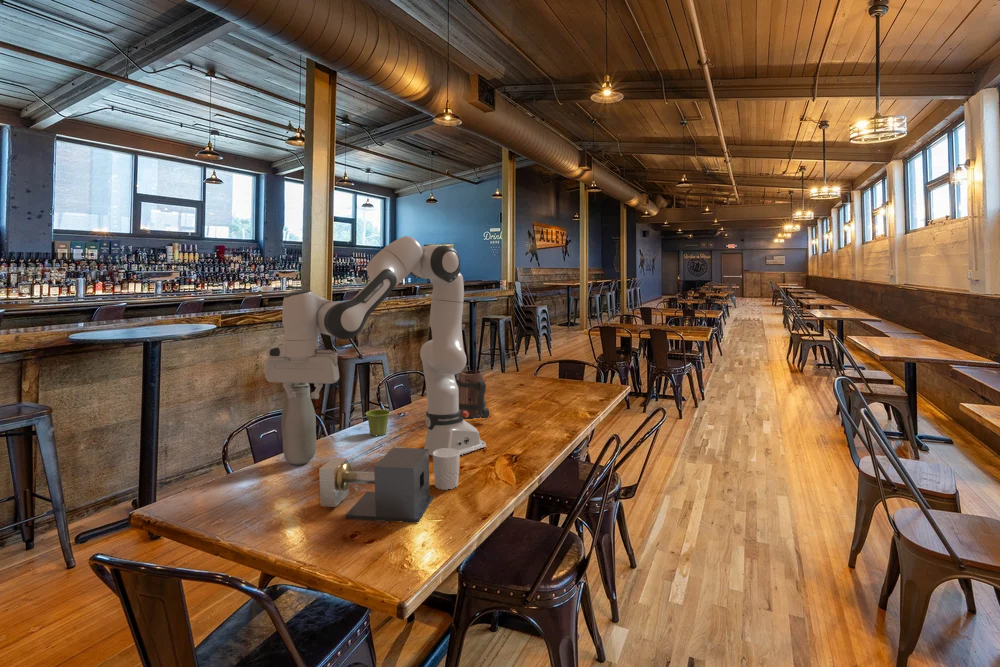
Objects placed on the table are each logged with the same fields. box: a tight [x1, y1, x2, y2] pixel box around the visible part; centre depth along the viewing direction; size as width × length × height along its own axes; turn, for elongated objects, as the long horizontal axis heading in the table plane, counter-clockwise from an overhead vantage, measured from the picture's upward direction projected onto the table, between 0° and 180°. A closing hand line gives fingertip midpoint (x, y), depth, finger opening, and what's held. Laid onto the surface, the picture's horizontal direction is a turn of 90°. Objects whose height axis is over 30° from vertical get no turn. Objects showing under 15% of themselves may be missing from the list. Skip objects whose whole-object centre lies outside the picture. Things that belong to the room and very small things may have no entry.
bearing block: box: [344, 447, 434, 523], centre depth 129 cm, size 19×14×14 cm
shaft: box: [318, 457, 375, 508], centre depth 130 cm, size 22×8×10 cm, turn 83°
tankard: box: [456, 370, 490, 419], centre depth 215 cm, size 24×17×20 cm
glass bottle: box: [280, 383, 317, 466], centre depth 161 cm, size 10×10×28 cm
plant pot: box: [365, 409, 391, 437], centre depth 193 cm, size 9×9×9 cm
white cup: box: [432, 448, 461, 491], centre depth 144 cm, size 8×8×10 cm
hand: (303, 398), depth 138 cm, fingers open, 5 cm apart
